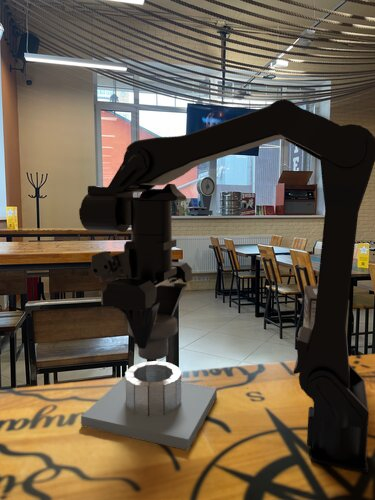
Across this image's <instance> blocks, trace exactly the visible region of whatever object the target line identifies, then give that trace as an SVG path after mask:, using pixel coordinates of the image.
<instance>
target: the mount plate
mask: <svg viewBox="0 0 375 500" xmlns="http://www.w3.org/2000/svg"><path fill="white" fill-rule="evenodd" d="M217 390H218V389H217V387H212V386H208V385H207V386H205V385H201V384H200V385H199V384H194V383H188V382H182V381H181V404H180V405H179V407H178V408H177V409H176V410H175V411H173V412H170V413H168V414H166V415H163V416H154V417H149V416H148V417H146V416H141V415H136V414H134V413H132V412H131V411H130V410H129V409H127V407H126V383H125V376H124V377H122V378H121V379H120V380H119V381H118V382H117V383H116V384H115V385H114V386H112V387H111V388H110V389H109V390H108V391H107V392H106V393H105V394H103V396H101V397H100V398H99V399H98V400H97V401H96V402H95V403H94V404H93V405H92V406H90V408H88V409H87V410H86V411H85V412H84V413H83V414H82V415H80V416H81V417H80V418H81V419H80V421H81V423H80V424H81V426H82V427H83V428H84V427H85V428H89V429H93V430H98V431H101V432H106V433H111V434H115V435H120V436H124V437H128V438H134V439H138V440H141V441H146V442H149V443H153V444H155V443H156V444H159V445H163V446H168V447H172V448H177V449H182V450H186V451H189V450H190V448H191V446H192V444H193V442H194V441H195V439H196V437H197V435H198V433H199V431H200V429H201V427H202V426H203V423H204V422H205V419H206V418H207V416H208V414H209V412H210V410H211V408H212V407H213V404H214V402H215V401H216V399H217V397H218V396H217V394H218V393H217V392H218V391H217Z"/></svg>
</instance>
